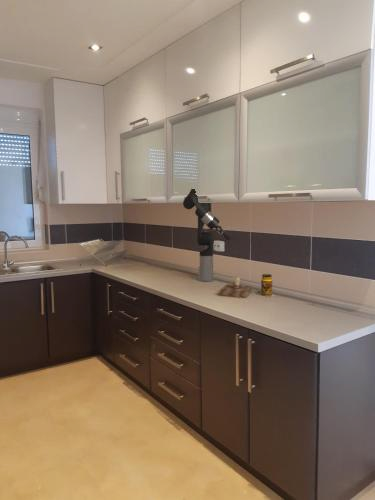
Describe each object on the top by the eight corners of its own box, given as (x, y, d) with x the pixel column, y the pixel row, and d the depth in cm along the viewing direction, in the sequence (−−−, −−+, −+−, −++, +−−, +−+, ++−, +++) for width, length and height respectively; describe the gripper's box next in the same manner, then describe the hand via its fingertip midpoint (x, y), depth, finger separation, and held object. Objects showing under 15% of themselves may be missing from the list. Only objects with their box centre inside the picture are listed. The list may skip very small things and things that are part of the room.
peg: (231, 294, 225) (232, 277, 223) (233, 293, 228) (234, 276, 227) (238, 295, 223) (238, 278, 222) (240, 293, 227) (240, 276, 225)
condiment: (264, 297, 218) (264, 276, 217) (256, 294, 226) (256, 273, 225) (275, 296, 221) (276, 275, 219) (267, 292, 229) (267, 272, 227)
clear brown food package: (220, 296, 222) (220, 289, 221) (226, 290, 235) (226, 284, 234) (246, 298, 216) (246, 290, 216) (251, 292, 229) (251, 285, 229)
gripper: (215, 216, 230) (234, 235, 231) (214, 215, 244) (232, 233, 245) (206, 225, 231) (225, 244, 232) (205, 224, 245) (223, 242, 246)
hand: (229, 239), depth 238 cm, fingers open, 8 cm apart
